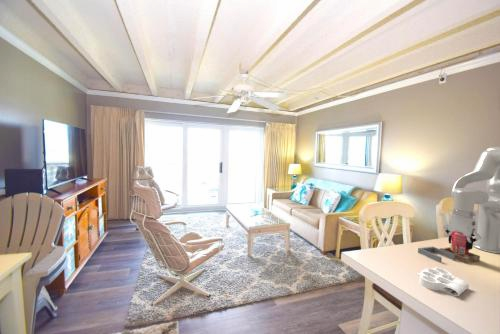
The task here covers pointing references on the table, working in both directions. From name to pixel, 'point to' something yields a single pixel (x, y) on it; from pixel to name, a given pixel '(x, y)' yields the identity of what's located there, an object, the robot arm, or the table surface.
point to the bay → (427, 251)
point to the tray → (463, 256)
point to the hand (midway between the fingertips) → (459, 245)
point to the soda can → (459, 243)
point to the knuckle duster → (442, 281)
